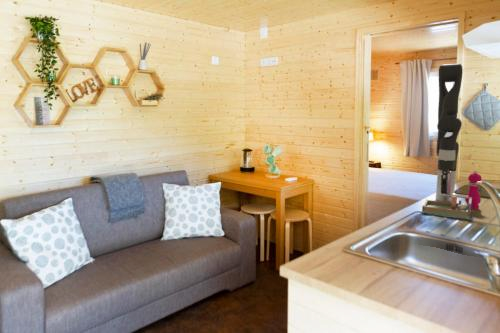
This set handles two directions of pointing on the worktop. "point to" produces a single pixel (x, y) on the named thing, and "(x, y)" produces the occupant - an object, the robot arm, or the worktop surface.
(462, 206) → the ball
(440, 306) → the worktop surface
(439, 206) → the tray
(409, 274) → the worktop surface
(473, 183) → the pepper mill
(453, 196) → the grey brown angular piece
